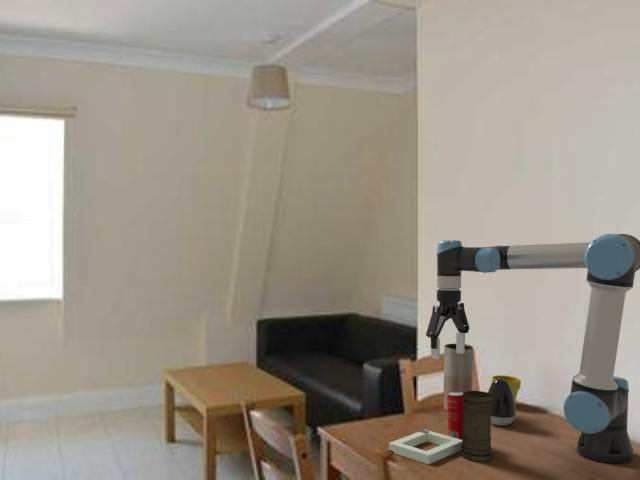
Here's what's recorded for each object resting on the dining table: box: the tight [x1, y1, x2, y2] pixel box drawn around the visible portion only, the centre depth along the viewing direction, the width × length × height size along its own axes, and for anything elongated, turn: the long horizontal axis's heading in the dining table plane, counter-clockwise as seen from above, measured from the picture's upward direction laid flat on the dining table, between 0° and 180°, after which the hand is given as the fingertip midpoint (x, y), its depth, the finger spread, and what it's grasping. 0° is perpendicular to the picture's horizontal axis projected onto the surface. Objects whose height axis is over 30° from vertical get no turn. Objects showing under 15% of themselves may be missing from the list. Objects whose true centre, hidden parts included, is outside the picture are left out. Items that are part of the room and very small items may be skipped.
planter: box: [442, 343, 474, 411], centre depth 237 cm, size 10×10×23 cm
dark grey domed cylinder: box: [487, 378, 517, 427], centre depth 221 cm, size 10×10×15 cm
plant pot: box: [490, 374, 521, 402], centre depth 244 cm, size 10×10×10 cm
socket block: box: [388, 429, 463, 465], centre depth 195 cm, size 14×18×3 cm
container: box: [460, 390, 493, 463], centre depth 190 cm, size 9×9×18 cm
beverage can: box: [446, 391, 464, 440], centre depth 202 cm, size 6×6×15 cm
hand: (448, 356), depth 210 cm, fingers open, 13 cm apart
